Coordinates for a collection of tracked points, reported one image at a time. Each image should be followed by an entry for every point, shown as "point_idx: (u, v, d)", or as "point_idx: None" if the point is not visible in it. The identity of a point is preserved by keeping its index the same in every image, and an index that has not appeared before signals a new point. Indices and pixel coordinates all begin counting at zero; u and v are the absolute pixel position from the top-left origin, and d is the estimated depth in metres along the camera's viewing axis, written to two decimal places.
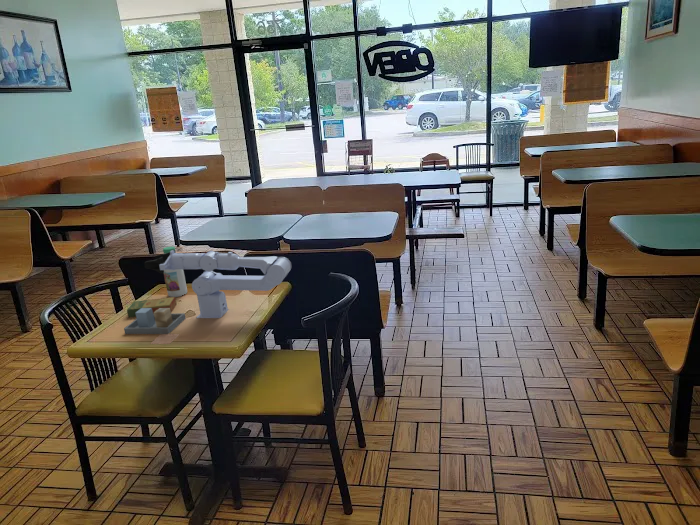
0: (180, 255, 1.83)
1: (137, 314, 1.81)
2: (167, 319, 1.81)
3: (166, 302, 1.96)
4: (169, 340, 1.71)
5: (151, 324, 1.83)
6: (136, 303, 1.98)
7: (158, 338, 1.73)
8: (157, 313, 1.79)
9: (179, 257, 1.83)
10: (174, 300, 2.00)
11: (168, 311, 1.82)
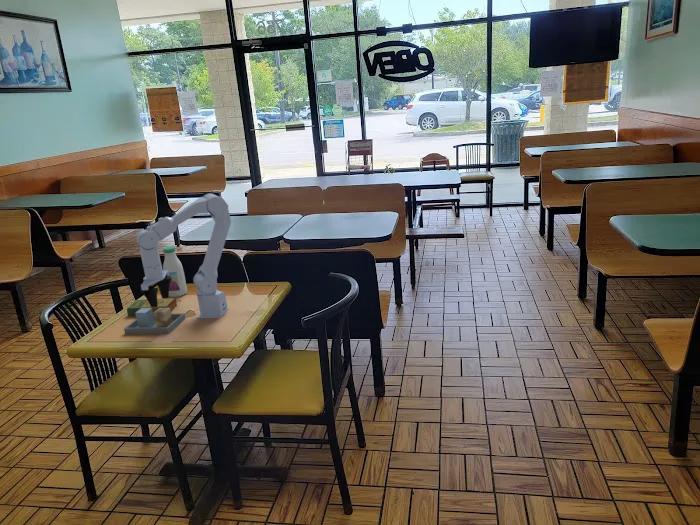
0: (144, 269, 1.76)
1: (137, 314, 1.81)
2: (167, 319, 1.81)
3: (164, 303, 1.95)
4: (169, 340, 1.71)
5: (151, 324, 1.83)
6: (138, 302, 1.99)
7: (158, 338, 1.73)
8: (157, 313, 1.79)
9: (144, 270, 1.75)
10: (174, 301, 1.99)
11: (168, 311, 1.82)
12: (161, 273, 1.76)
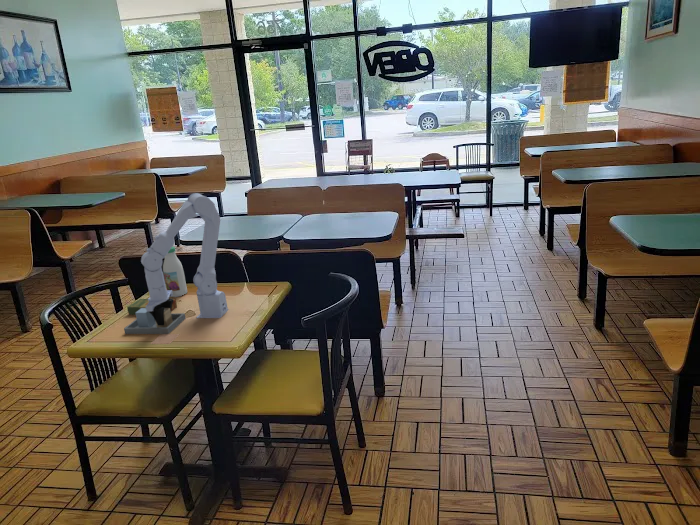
0: None
1: (137, 314, 1.81)
2: (167, 319, 1.81)
3: None
4: (169, 340, 1.71)
5: (151, 324, 1.83)
6: (140, 301, 2.00)
7: (158, 338, 1.73)
8: None
9: (149, 291, 1.77)
10: (173, 303, 1.97)
11: (168, 311, 1.82)
12: (165, 294, 1.79)
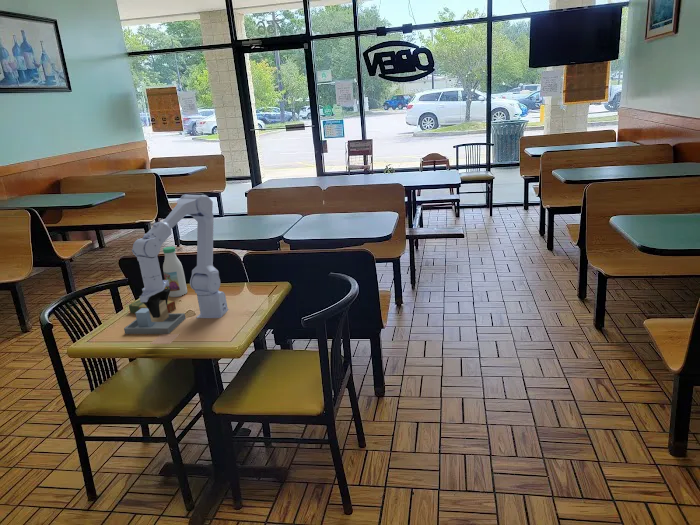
0: (143, 279, 1.65)
1: (137, 314, 1.81)
2: (162, 312, 1.68)
3: None
4: (169, 340, 1.71)
5: (151, 324, 1.83)
6: None
7: (158, 338, 1.73)
8: None
9: (143, 281, 1.65)
10: (172, 304, 1.96)
11: (163, 303, 1.69)
12: (161, 284, 1.66)
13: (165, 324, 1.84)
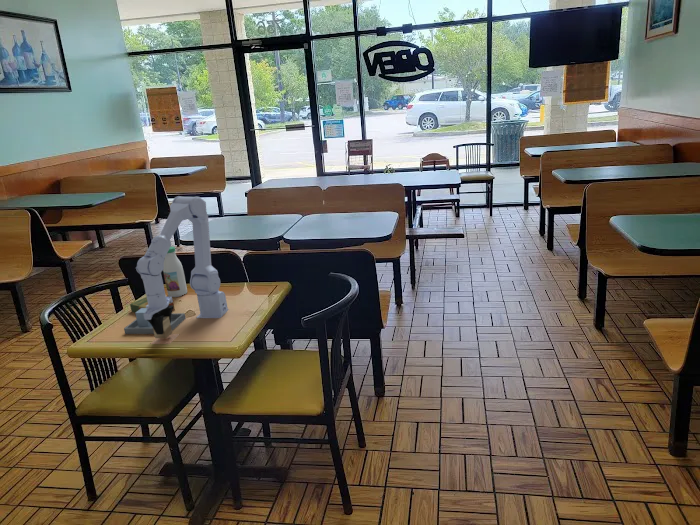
0: None
1: (137, 314, 1.81)
2: (165, 329, 1.70)
3: None
4: (169, 340, 1.71)
5: None
6: (144, 299, 2.01)
7: (158, 338, 1.73)
8: None
9: (147, 298, 1.66)
10: None
11: (167, 320, 1.71)
12: (165, 301, 1.68)
13: None
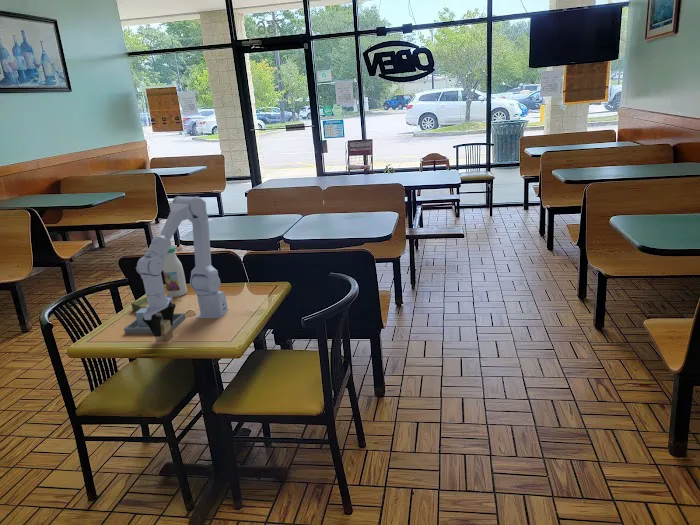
0: None
1: (137, 314, 1.81)
2: (166, 332, 1.70)
3: None
4: (169, 340, 1.71)
5: None
6: (146, 299, 2.01)
7: None
8: None
9: (147, 298, 1.66)
10: None
11: (168, 323, 1.71)
12: (165, 301, 1.68)
13: None
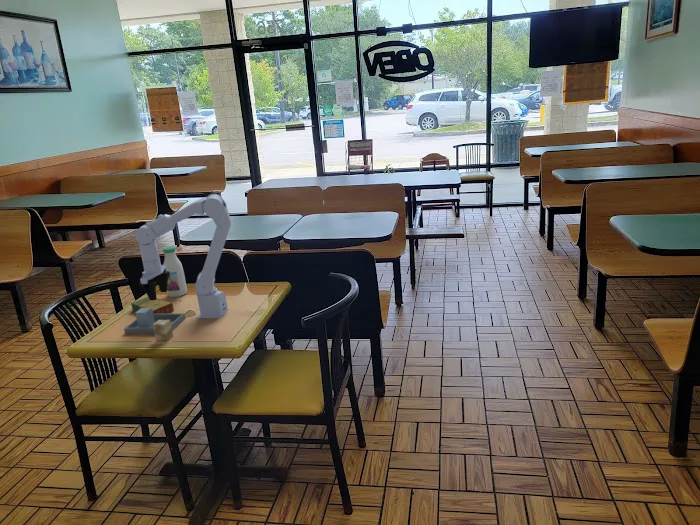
0: (143, 264, 1.81)
1: (137, 314, 1.81)
2: (166, 332, 1.70)
3: (156, 306, 1.92)
4: (169, 340, 1.71)
5: (151, 324, 1.83)
6: (146, 299, 2.01)
7: None
8: (156, 325, 1.69)
9: (143, 264, 1.80)
10: (169, 306, 1.94)
11: (168, 323, 1.71)
12: (160, 267, 1.81)
13: None
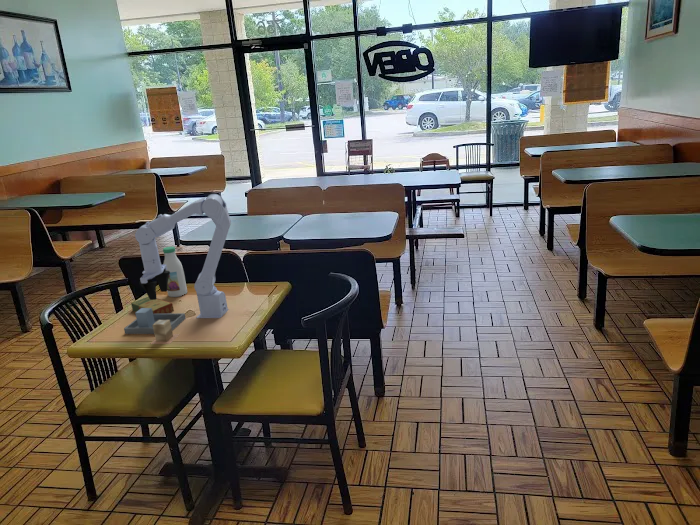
0: (143, 263, 1.81)
1: (137, 314, 1.81)
2: (166, 332, 1.70)
3: (156, 306, 1.92)
4: (169, 340, 1.71)
5: (151, 324, 1.83)
6: (146, 299, 2.01)
7: None
8: (156, 325, 1.69)
9: (143, 264, 1.81)
10: (169, 306, 1.94)
11: (168, 323, 1.71)
12: (160, 267, 1.82)
13: None
